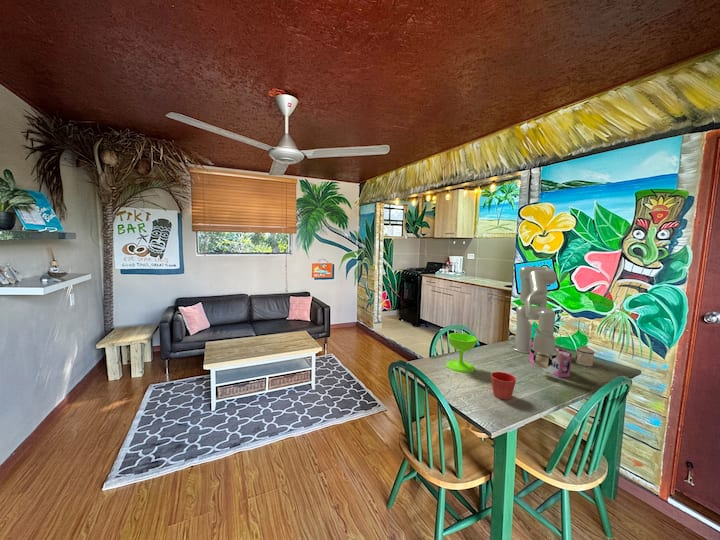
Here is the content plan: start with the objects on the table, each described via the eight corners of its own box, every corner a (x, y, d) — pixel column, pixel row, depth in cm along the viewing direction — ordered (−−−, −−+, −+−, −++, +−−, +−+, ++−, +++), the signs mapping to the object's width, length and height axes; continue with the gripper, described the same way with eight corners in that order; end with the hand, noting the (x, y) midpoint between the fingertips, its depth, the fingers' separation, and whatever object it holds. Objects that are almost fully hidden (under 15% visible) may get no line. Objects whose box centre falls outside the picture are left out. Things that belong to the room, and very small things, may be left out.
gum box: (572, 378, 164) (575, 354, 163) (560, 378, 163) (563, 354, 161) (538, 361, 187) (540, 340, 186) (527, 361, 186) (529, 340, 185)
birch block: (534, 365, 165) (535, 355, 164) (537, 362, 170) (538, 352, 169) (547, 368, 161) (548, 358, 161) (549, 365, 166) (550, 355, 165)
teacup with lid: (579, 359, 191) (580, 342, 190) (595, 365, 184) (597, 346, 182) (569, 363, 185) (571, 345, 184) (586, 368, 177) (588, 349, 176)
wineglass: (473, 363, 180) (475, 334, 178) (476, 374, 164) (478, 343, 163) (446, 360, 184) (447, 331, 182) (446, 370, 168) (448, 339, 167)
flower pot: (485, 390, 146) (486, 371, 145) (506, 390, 147) (507, 371, 146) (496, 401, 136) (498, 381, 135) (519, 401, 137) (521, 381, 136)
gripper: (526, 330, 166) (523, 361, 168) (563, 338, 155) (559, 370, 157) (529, 327, 172) (526, 357, 174) (565, 334, 160) (561, 366, 163)
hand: (542, 363), depth 165 cm, fingers closed on birch block, 6 cm apart
